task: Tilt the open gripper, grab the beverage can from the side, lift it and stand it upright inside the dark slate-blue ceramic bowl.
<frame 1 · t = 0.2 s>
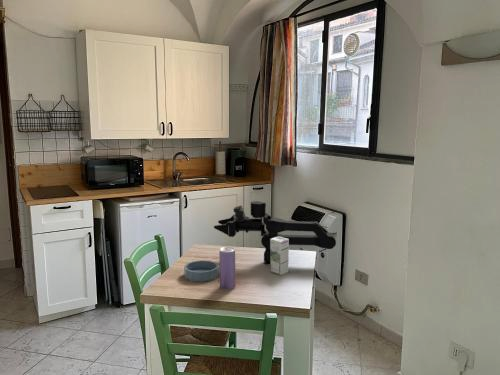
hand: (216, 224, 182), 17 cm above the table, tool horizontal, fingers open, 9 cm apart
bowl: (201, 275, 166), on the table
beverage can: (227, 287, 154), on the table
syrup box: (279, 272, 170), on the table
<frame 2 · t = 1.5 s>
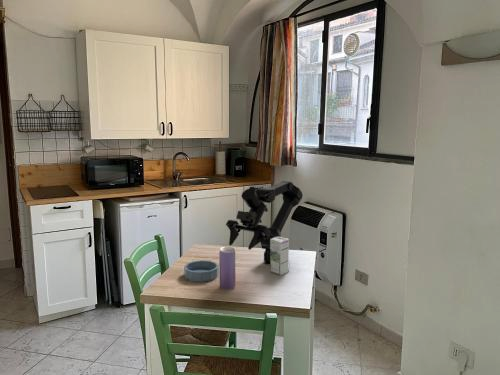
hand: (239, 247, 159), 14 cm above the table, tool tilted 45°, fingers open, 9 cm apart
nothing on the table moved.
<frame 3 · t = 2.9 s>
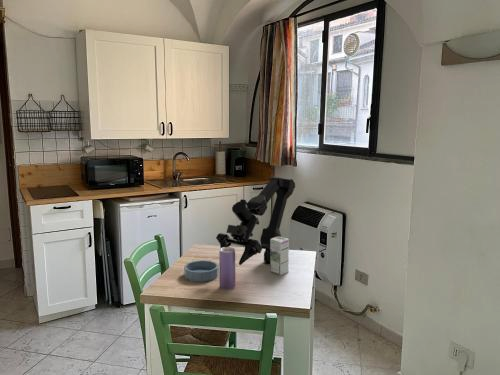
hand: (229, 262, 154), 10 cm above the table, tool tilted 45°, fingers open, 9 cm apart
nothing on the table moved.
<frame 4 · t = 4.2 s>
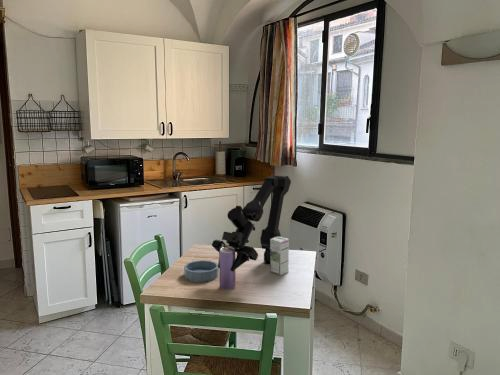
hand: (225, 269, 152), 8 cm above the table, tool tilted 45°, fingers closed on beverage can, 6 cm apart
beverage can: (227, 287, 154), on the table, touching gripper
everything else where it was.
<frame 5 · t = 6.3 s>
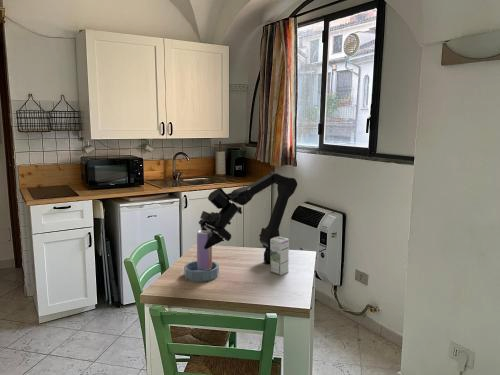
hand: (201, 246, 161), 13 cm above the table, tool tilted 45°, fingers closed on beverage can, 6 cm apart
beverage can: (204, 269, 162), point 4 cm above the table, touching gripper
everything else where it was.
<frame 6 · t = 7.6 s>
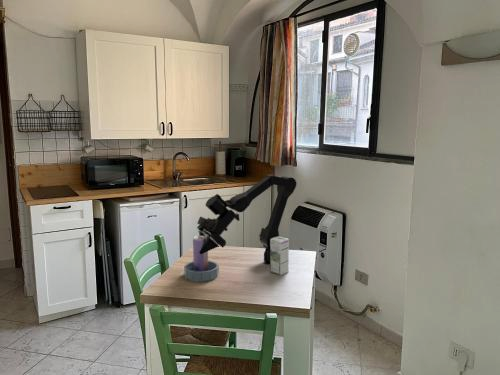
hand: (197, 251, 164), 10 cm above the table, tool tilted 45°, fingers closed on beverage can, 6 cm apart
beverage can: (201, 273, 166), point 1 cm above the table, touching bowl, gripper
everything else where it was.
when the fingers open (10 cm above the table, at t = 7.8 s): beverage can stays where it is, resting on bowl.
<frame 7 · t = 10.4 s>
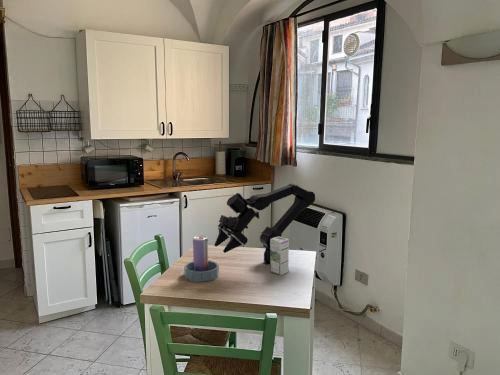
hand: (219, 249, 168), 10 cm above the table, tool tilted 45°, fingers open, 9 cm apart
beverage can: (201, 273, 166), point 1 cm above the table, touching bowl
everything else where it was.
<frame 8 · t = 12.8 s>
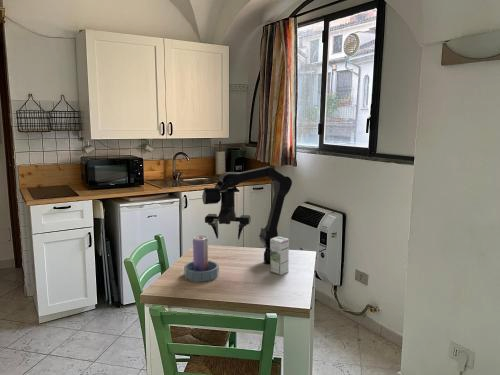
hand: (228, 238, 172), 13 cm above the table, tool pointing down, fingers open, 9 cm apart
nothing on the table moved.
at the end: beverage can 0.2 cm off-centre on the bowl, point 0.8 cm above the bowl's base; beverage can tilted 0°; the gripper is holding nothing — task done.
